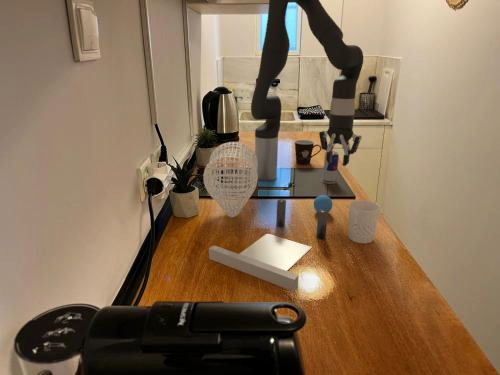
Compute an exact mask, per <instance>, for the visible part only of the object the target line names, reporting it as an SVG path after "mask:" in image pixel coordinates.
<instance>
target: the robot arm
mask: <svg viewBox="0 0 500 375" xmlns="http://www.w3.org/2000/svg"><path fill="white" fill-rule="evenodd" d="M289 3H294V4H295V3H296V4H297V5H298V6H299V7H300V8H301V9H302V10H303V11H304V13H305V15H306V17H307V22H308V26H309V29H310V32H311V33H312V35H313V36H314V37H315V39H316V40H317V42H318V43H319V44H320V45H321V46H322V47H323V50H324V53H325V55H326V57H327V59H328V61H329V63H330V64H331V65H332V66H333V67H334V68H335V69H337V70H338V71H339V70H340V75H339V77H337V78H335V79H334V81H333V83H332V94H331V101H330V109H329V119H328V120H329V121H328V129H327V130H322V131H319V132H318V134H319V141H320V146H321V150H324V151H325V152H327V157H326V160H327V161H328V163H331V162H332V156H333V152H334V151H333V150H334V147H335V145H336V144H337V145H341V147H342V149H343V152H344V154H343V158H342V167H346V166H347V165H348V164H349V163H350V156H351V155H353V154H355V153H357V150H358V149H359V148H358V147H359V146H360V144H361V143H360V142H361V140H362V135H357V134H354V130H353V127H354V120H355V113H356V112H355V111H356V100H355V99H356V92H357V83H358V81H359V78H360V74H361V72H362V68H363V65H364V54H363V49H361V47H359V46H358V45H355V44H354V45H352V44H346V42H344V40H343V39H344V33H343V31H342V30H341V28H340V27H339V25H338V24H337V23H336V22H335V21H334V19H333V18H332V17H331V16H330V14H329V13H328V12H327V11H326V9H325V7H324V6H323V4H322V3H321V1H320V0H269V1H268V12H267V19H266V20H267V21H266V27H265V28H266V29H265V34H264V40H263V44H262V48H261V55H260V56H261V57H260V65H259V70H258V74H257V79H256V84H255V88H254V89H253V90H254V91H253V95H252V99H251V104H250V112H251V116H252V118H253V119H255V120H256V121H257V120H258V121H259V120H260V121H261V120H263V121H264V120H265V121H264V123H263V124H261V125H260V126H258V127H256V128H255V131H254V153H255V154H256V156H257V161H258V168H257V174H258V180H259V181H272V180H276V179H277V176H278V154H279V151H278V150H279V149H278V148H279V146H278V145H279V132H280V129H281V118H282V102H281V98H280V97H279V95H278V94H277V95H276V94H269V91H270V88H271V87H272V84H273V83H274V82H275V80H276V79H277V78H278V76H279V75H280V74H281V72H282V71H283V70H284V68H285V66H286V64H287V60H288V56H289V51H290V45H291V44H290V38H289V33H288V29H287V27H286V26H287V25H286V15H287V9H288V5H289ZM327 137H329V142H328V139H327ZM350 140H352V142H353V144H352V146H350ZM350 147H351V148H350ZM254 156H255V155H254ZM254 159H255V158H254ZM253 161H254V160H253ZM255 166H256V165H255Z"/></svg>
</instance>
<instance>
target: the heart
mask: <svg viewBox="0 0 500 375" xmlns="http://www.w3.org/2000/svg"><path fill="white" fill-rule="evenodd" d="M254 155H255V156H254ZM254 158H255V159H254ZM232 159H233V160H232ZM236 159H237V160H236ZM253 160H254V161H253ZM231 164H233V166H231ZM236 164H237V166H236ZM240 164H241V166H240ZM255 165H256V166H255ZM257 168H258V161H257V156H256V154H255V150H253V148H251V147H250V146H248V145H246V143H243V142H239V141H238V142H237V141H229V142H225V143H222V144H220V145H218V146H217V147H216V148H215V149H214V150H213V151H212V153H211V154H210V156H209V162H208V163H207V164H206V166H205V167H204V172H203V176H202V177H203V184H204V187H205V189H206V191H207V193H208V194H209V195H210V196H209V197H211V198H212V199H213V201H215V202H216V203H217V204H218V206H219V207H220V209H221V210H222V211H223V213H224V214H225V215H226V216H228V217H229V218H235V217H237V216H238V215H239V214H240V212H241V211H242V209H243V208H244V207H245V205H246V203H247V202H248V200H249V199H250V198H251V197H252V196H253V193H254V192H255V190H256V188H257V185H258V174H257ZM232 170H233V172H232ZM236 170H237V173H236ZM240 170H241V173H240ZM222 171H223V173H222ZM246 171H247V174H246ZM222 177H223V178H222ZM225 177H226V178H225ZM236 178H237V179H236ZM221 186H222V187H221ZM225 186H226V187H225ZM245 186H246V187H245ZM235 187H236V188H235Z"/></svg>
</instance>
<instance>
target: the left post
mask: <svg viewBox="0 0 500 375" xmlns="http://www.w3.org/2000/svg"><path fill="white" fill-rule="evenodd" d="M286 204H287V201H286V200H285V199H283V198H282V199H277V201H276V218H275V219H276V221H275V222H276V227H277V228H281V229H282V228H285V227H286V211H287V210H286V209H287V208H286V206H287V205H286Z"/></svg>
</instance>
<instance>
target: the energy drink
mask: <svg viewBox="0 0 500 375" xmlns="http://www.w3.org/2000/svg"><path fill="white" fill-rule="evenodd" d="M339 156H340V155H339V152H337V151H333V156H332V162H331V163H328V161H327V160H326V157H327V151H325V154H324V161H323V162H324V164H323V171H322V172H323V174H322V182H323V183H324V184H327V185H334V184H336V183H337V179H338V168H339Z"/></svg>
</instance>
